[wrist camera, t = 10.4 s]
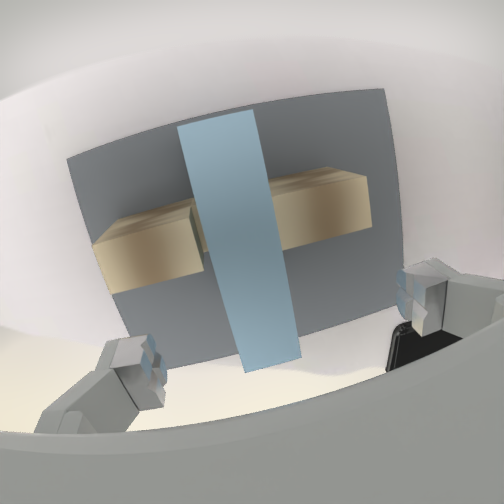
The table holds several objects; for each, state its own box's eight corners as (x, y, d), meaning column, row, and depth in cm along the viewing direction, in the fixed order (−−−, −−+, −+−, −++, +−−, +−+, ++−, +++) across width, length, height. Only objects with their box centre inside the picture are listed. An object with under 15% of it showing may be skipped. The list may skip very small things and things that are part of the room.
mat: (381, 89, 25) (383, 88, 24) (401, 300, 33) (403, 302, 32) (68, 158, 23) (66, 159, 23) (148, 370, 31) (148, 373, 30)
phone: (397, 328, 33) (483, 301, 35) (392, 323, 34) (478, 298, 36) (387, 379, 36) (470, 349, 37) (383, 374, 37) (466, 345, 38)
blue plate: (231, 123, 24) (252, 109, 14) (267, 282, 29) (301, 357, 19) (187, 133, 24) (177, 126, 13) (228, 292, 29) (245, 373, 18)
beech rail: (327, 166, 26) (366, 176, 20) (333, 205, 27) (372, 227, 21) (117, 219, 25) (91, 245, 18) (130, 257, 26) (110, 294, 20)
